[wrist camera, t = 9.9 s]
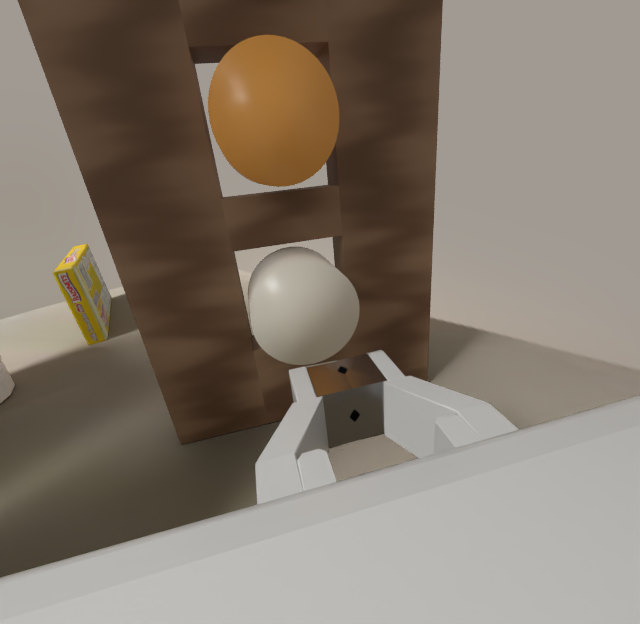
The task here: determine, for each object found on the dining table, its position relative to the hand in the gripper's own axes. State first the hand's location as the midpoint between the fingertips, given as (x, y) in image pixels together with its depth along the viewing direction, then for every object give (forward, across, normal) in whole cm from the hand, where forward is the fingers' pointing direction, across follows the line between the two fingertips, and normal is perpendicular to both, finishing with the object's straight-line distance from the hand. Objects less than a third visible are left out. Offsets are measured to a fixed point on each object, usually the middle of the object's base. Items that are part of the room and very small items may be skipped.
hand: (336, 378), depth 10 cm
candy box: (+34, +21, +8) cm, 41 cm away
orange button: (+8, 0, -6) cm, 10 cm away
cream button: (+7, 0, +3) cm, 7 cm away
